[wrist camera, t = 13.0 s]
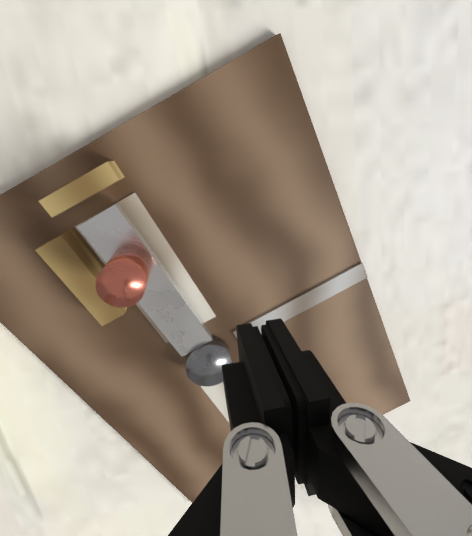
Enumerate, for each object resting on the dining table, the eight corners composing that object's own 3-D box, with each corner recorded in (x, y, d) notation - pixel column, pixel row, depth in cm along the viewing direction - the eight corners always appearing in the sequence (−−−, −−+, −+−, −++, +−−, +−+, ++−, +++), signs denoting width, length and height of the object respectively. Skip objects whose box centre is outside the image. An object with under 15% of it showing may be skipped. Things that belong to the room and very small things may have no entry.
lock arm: (237, 358, 27) (248, 403, 22) (200, 379, 28) (203, 427, 23) (125, 197, 21) (105, 212, 16) (77, 226, 21) (43, 248, 16)
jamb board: (198, 502, 36) (198, 527, 33) (-76, 241, 21) (-111, 252, 18) (406, 396, 34) (423, 415, 32) (277, 36, 19) (290, 20, 17)
